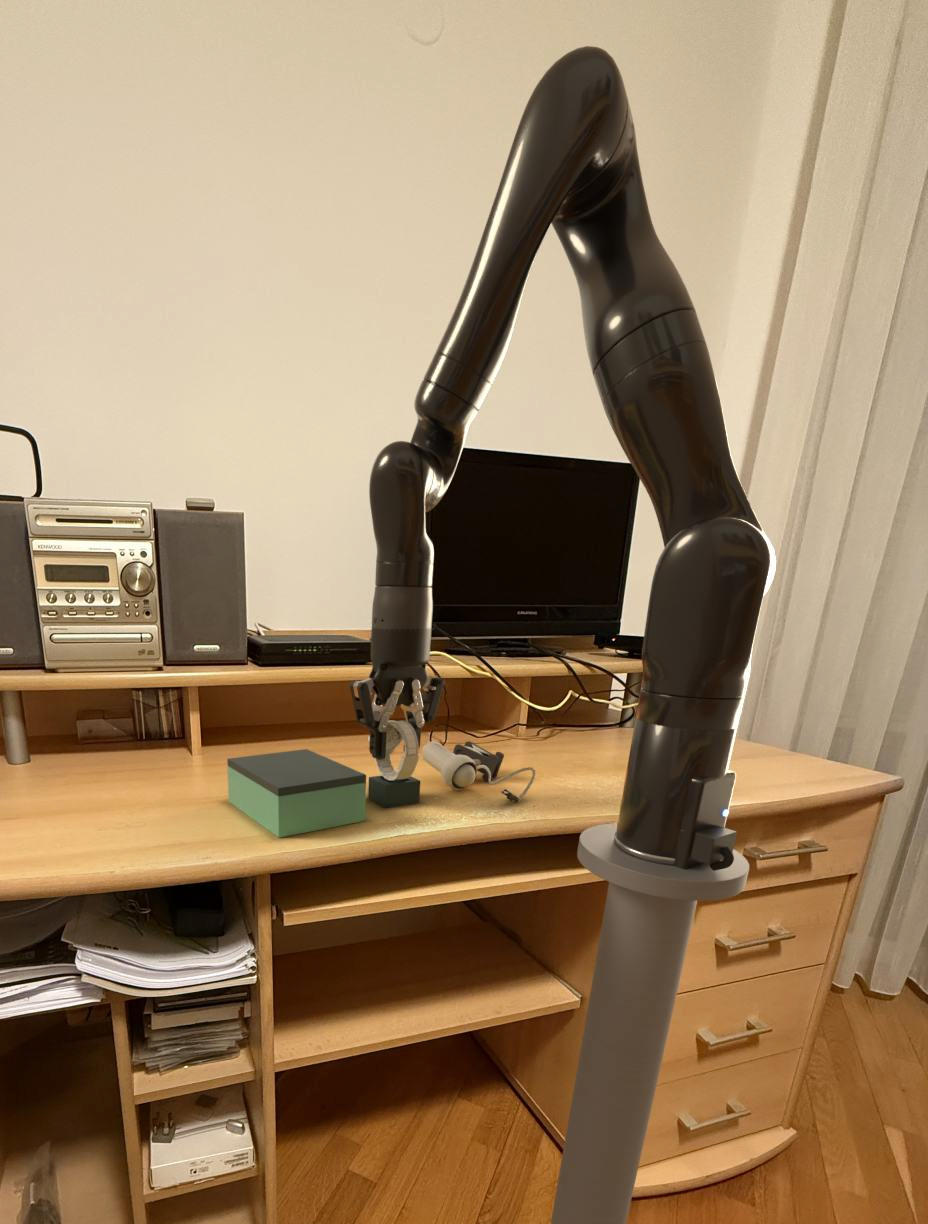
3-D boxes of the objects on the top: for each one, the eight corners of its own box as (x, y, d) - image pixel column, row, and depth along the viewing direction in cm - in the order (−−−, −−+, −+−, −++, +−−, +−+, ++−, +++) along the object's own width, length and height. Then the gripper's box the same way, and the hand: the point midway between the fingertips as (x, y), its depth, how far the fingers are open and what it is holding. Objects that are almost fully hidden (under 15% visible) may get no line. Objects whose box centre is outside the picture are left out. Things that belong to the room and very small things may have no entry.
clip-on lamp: (544, 817, 90) (465, 761, 104) (560, 777, 87) (478, 725, 101) (483, 822, 84) (408, 762, 98) (498, 780, 81) (419, 724, 95)
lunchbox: (364, 820, 79) (366, 774, 77) (278, 837, 73) (278, 788, 71) (306, 789, 91) (306, 748, 89) (228, 801, 85) (227, 758, 83)
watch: (394, 790, 91) (398, 714, 88) (426, 806, 85) (432, 725, 81) (360, 794, 89) (363, 717, 86) (391, 811, 82) (395, 728, 79)
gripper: (371, 626, 73) (366, 769, 78) (464, 625, 80) (454, 756, 85) (337, 623, 79) (334, 756, 84) (426, 622, 86) (419, 745, 91)
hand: (394, 755), depth 85 cm, fingers closed on watch, 4 cm apart
